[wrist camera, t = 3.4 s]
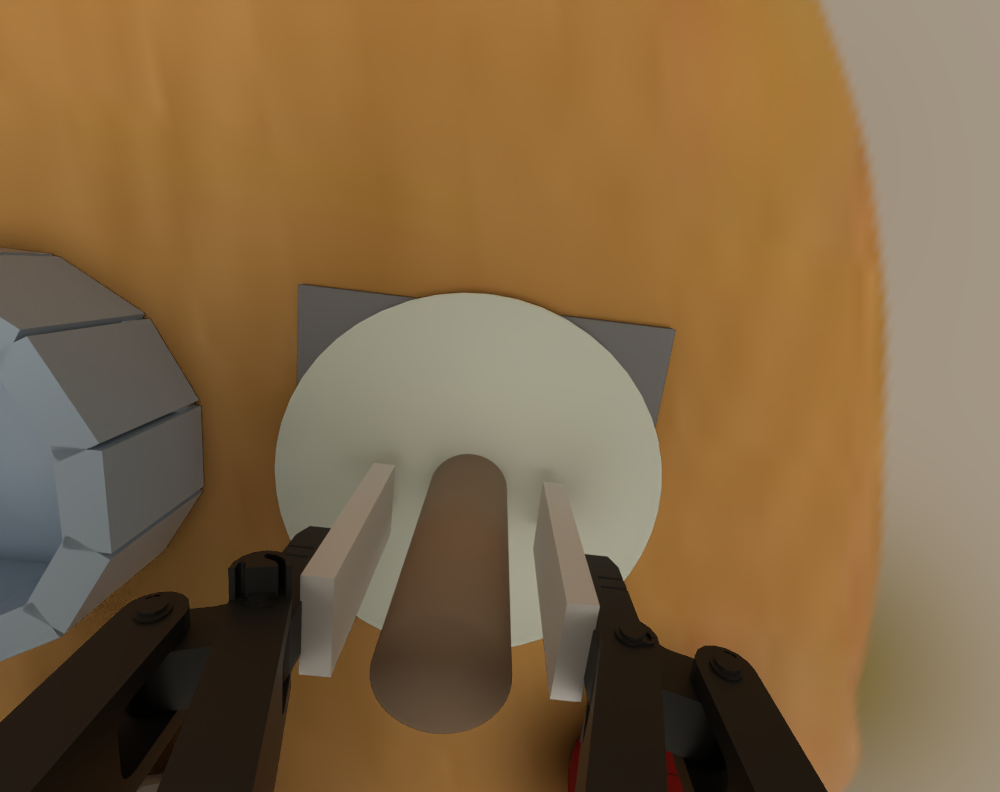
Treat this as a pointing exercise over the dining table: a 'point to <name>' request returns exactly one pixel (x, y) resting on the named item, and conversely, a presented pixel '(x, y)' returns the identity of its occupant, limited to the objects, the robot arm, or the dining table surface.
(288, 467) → the lid
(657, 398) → the mat
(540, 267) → the dining table surface
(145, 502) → the bowl
